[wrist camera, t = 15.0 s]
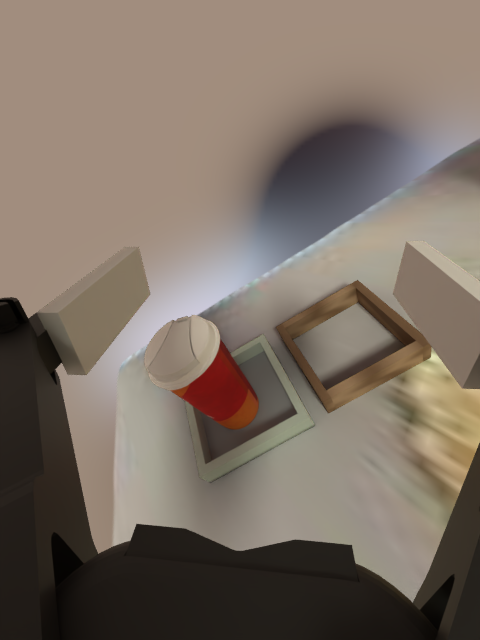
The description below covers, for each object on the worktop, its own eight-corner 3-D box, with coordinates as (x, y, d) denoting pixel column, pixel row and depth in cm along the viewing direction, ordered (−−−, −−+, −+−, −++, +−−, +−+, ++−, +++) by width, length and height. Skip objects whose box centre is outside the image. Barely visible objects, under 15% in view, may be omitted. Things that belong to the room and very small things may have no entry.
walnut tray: (360, 294, 42) (357, 280, 40) (430, 357, 32) (431, 342, 30) (282, 339, 43) (275, 327, 41) (328, 413, 33) (322, 402, 31)
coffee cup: (214, 384, 42) (151, 320, 32) (267, 375, 39) (217, 302, 29) (206, 443, 37) (128, 389, 27) (267, 437, 34) (206, 374, 24)
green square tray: (269, 343, 43) (263, 333, 42) (315, 425, 33) (310, 416, 31) (189, 389, 44) (180, 381, 42) (210, 482, 34) (199, 477, 32)
